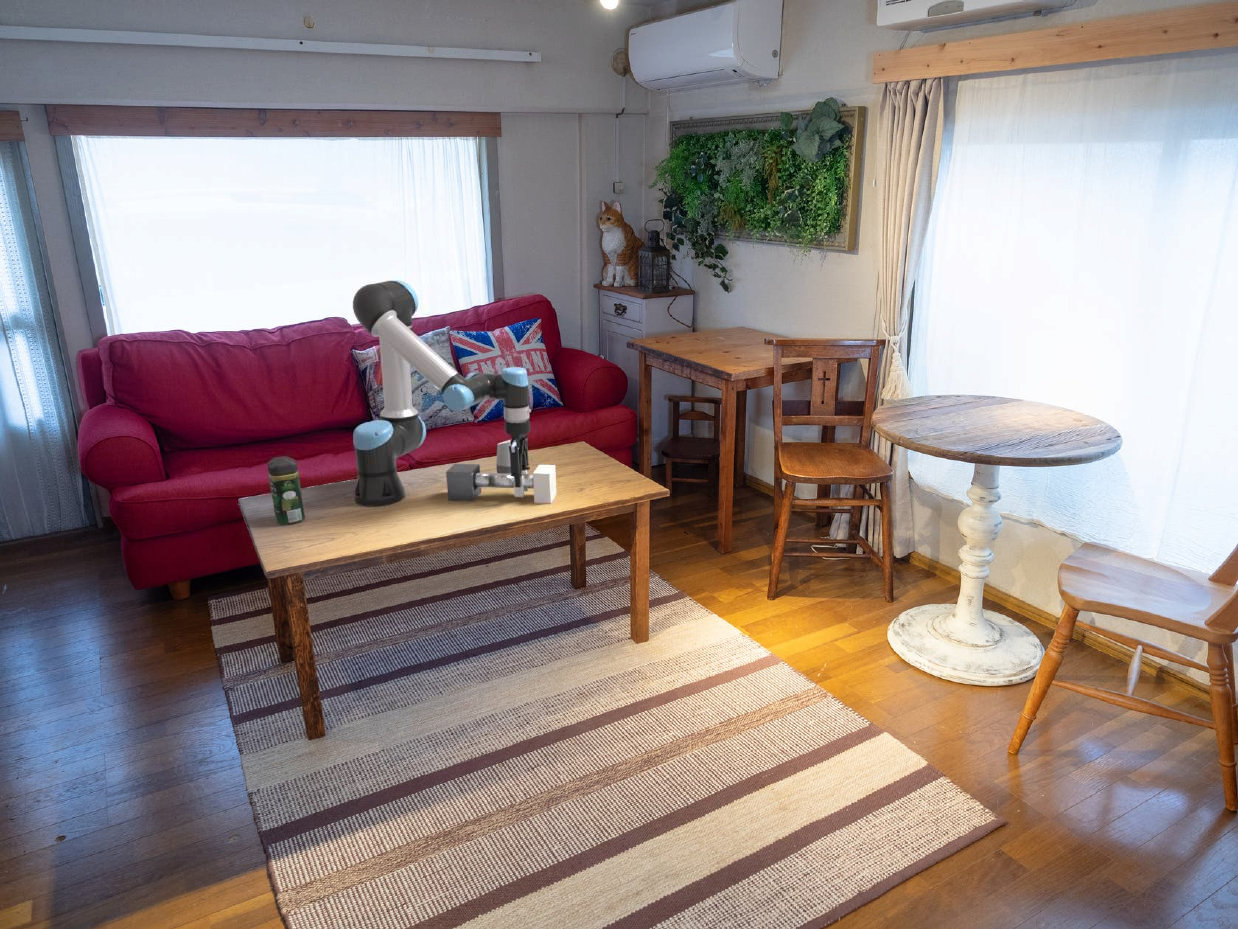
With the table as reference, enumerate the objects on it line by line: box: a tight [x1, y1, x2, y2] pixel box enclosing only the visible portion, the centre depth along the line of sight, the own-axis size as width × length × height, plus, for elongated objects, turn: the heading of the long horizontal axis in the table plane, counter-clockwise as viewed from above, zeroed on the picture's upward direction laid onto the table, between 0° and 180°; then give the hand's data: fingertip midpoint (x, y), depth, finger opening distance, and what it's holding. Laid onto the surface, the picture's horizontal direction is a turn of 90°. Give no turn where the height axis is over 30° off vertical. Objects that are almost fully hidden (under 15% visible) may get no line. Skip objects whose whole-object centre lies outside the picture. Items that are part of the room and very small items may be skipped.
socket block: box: [532, 464, 557, 505], centre depth 261 cm, size 5×8×10 cm, turn 172°
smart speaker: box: [496, 438, 512, 474], centre depth 279 cm, size 10×9×14 cm
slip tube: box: [473, 472, 534, 490], centre depth 262 cm, size 26×4×4 cm, turn 82°
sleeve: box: [445, 463, 482, 502], centre depth 264 cm, size 8×8×9 cm
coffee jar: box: [267, 455, 306, 525], centre depth 246 cm, size 10×8×19 cm
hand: (521, 493), depth 263 cm, fingers closed on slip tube, 4 cm apart
